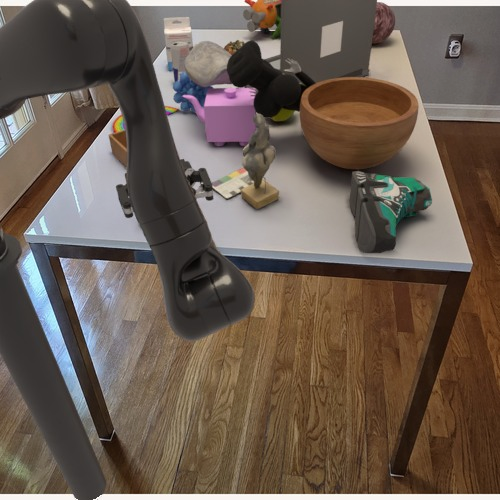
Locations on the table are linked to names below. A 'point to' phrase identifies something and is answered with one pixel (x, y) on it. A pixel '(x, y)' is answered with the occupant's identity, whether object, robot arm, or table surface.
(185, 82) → the grapes
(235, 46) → the mottled brown green mound
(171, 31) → the ink box
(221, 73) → the decorative stone
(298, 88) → the figurine
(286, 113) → the fruit
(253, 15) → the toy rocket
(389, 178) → the sneaker
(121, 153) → the open wooden box
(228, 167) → the table surface
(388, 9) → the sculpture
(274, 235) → the table surface
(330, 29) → the laptop
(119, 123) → the decorative object
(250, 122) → the teapot
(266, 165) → the figurine
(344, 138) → the bowl
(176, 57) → the energy drink
